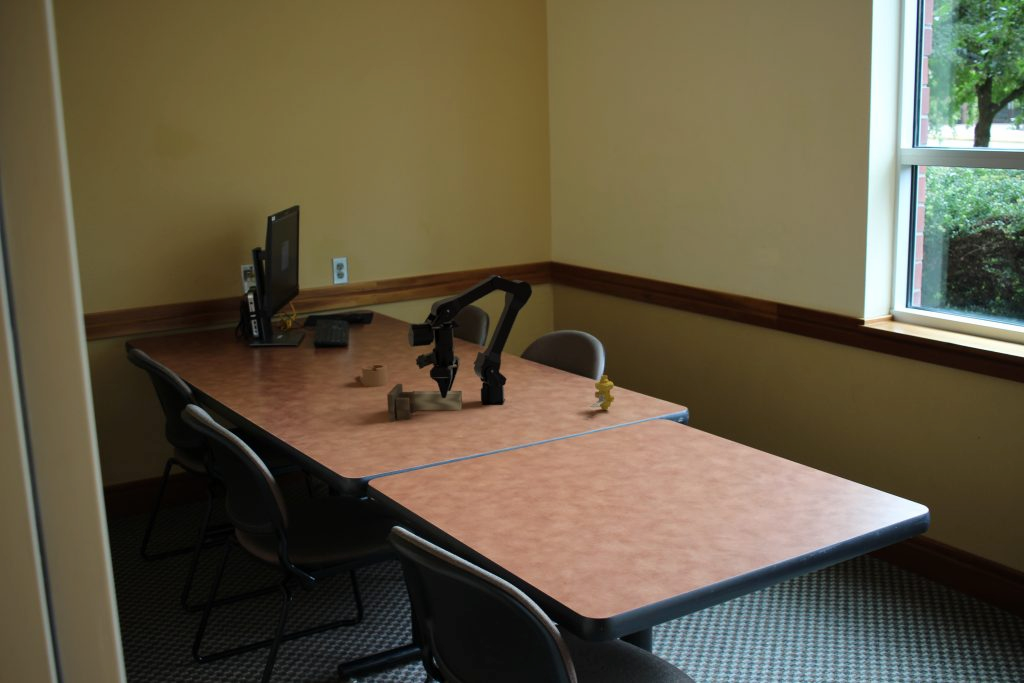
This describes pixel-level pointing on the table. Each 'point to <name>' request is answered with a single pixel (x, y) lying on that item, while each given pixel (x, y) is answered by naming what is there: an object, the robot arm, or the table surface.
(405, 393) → the headboard
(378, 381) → the bracket
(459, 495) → the table surface
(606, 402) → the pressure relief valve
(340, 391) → the table surface
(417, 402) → the rail
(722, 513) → the table surface
